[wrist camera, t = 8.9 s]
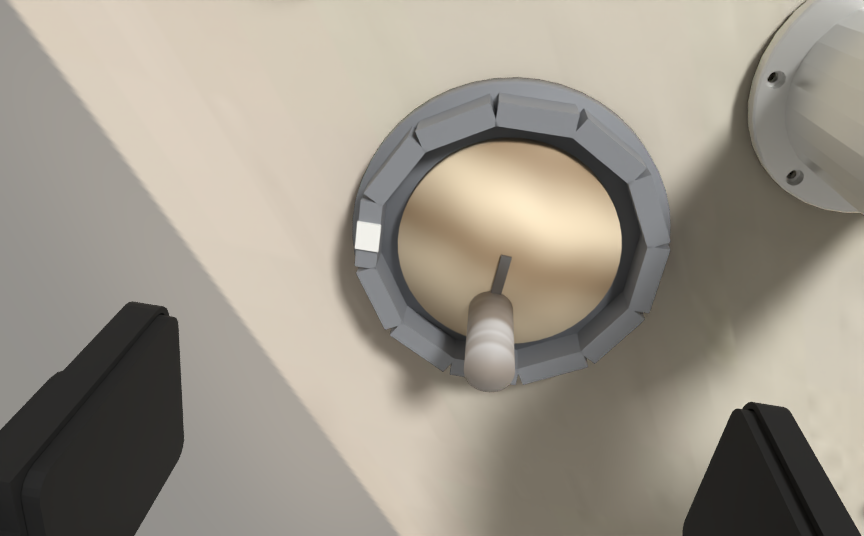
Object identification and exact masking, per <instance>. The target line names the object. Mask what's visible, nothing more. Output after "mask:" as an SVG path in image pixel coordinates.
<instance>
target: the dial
mask: <svg viewBox="0 0 864 536" xmlns="http://www.w3.org/2000/svg"><path fill="white" fill-rule="evenodd" d="M621 250H622V236H621V229H620V222H619V219H618V216H617V213H616V210H615V207H614V204H613V202H612V200H611V198H610V196H609V194H608V191H607V190H606V188H605V187H604V185H603V184H602V182H601V181H600V179H599V178H598V177H597V176H596V175H595V174H594V172H593V171H592V170H591V169H590V168H589V167H588V166H586V165H585V164H584V163H583V162H582V161H580V160H579V159H578V158H576V157H575V156H573V155H571V154H570V153H568V152H566V151H565V150H562V149H560V148H558V147H556V146H553V145H551V144H547V143H544V142H541V141H537V140H531V139H525V138H497V139H489V140H485V141H481V142H476V143H473V144H471V145H468V146H465V147H463V148H460V149H459V150H457V151H455V152H453V153H451V154H449V155H448V156H446V157H445V158H443V159H442V160H440V161H439V162H438V163H436V164H435V165H434V166H433V167H432V168H431V169H430V170H429V171H428V172H427V173H426V174H425V175H424V176H423V177H422V179H421V180H420V181H419V182H418V183H417V185H416V187H415V188H414V190H413V192H412V193H411V195H410V197H409V199H408V202H407V204H406V206H405V209H404V212H403V216H402V219H401V223H400V227H399V234H398V255H399V261H400V266H401V270H402V273H403V276H404V279H405V281H406V283H407V285H408V287H409V289H410V291H411V292H412V294H413V295H414V297H415V298H416V300H417V301H418V302H419V303H420V305H421V306H422V307H423V308H424V309H425V310H426V311H427V312H428V313H429V314H430V315H431V316H432V317H434V318H435V319H436V320H437V321H439V322H440V323H442V324H443V325H445V326H446V327H448V328H450V329H452V330H453V331H455V332H457V333H460V334H462V335H465V336H466V348H465V360H464V376H465V378H466V380H467V382H468V383H469V384H470V385H471V386H473V387H474V388H476V389H478V390H481V391H485V392H495V391H499V390H502V389H504V388H506V387H507V386H508V385H509V384H510V383H511V382H512V380H513V378H514V375H515V356H514V344H515V343H526V342H532V341H537V340H541V339H544V338H548V337H551V336H553V335H556V334H558V333H560V332H563V331H564V330H566V329H568V328H570V327H572V326H574V325H575V324H576V323H578V322H579V321H581V320H582V319H583V318H585V317H586V316H587V315H588V314H589V313H590V312H591V311H592V310H593V309H595V307H596V306H597V305H598V304H599V303H600V301H601V300H602V299H603V298H604V296H605V295H606V293H607V291H608V290H609V288H610V287H611V284H612V282H613V280H614V278H615V276H616V273H617V269H618V266H619V263H620V256H621Z"/></svg>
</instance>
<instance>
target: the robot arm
mask: <svg viewBox="0 0 864 536" xmlns="http://www.w3.org/2000/svg"><path fill="white" fill-rule="evenodd" d="M773 72H775V77H774V79H772V80H771V81H768V80H767V78H768V77H769V75H770V74H771V73H773ZM748 128H749V133H750V137H751V142H752V146H753V148H754V150H755V152H756V155H757V157H758V159H759V161H760V163H761V165H762V166H763V167H764V168H765V170H766V171H767V172H768V173H769V175H770V176H771V177H772V178H773V180H774V181H775V182H776V183H777V184H778V185H779V186H781V187H782V188H783V189H784V190H785V191H786V192H788V193H790V194H791V195H793V196H794V197H796V198H798V199H799V200H801V201H802V202H804V203H807V204H810V205H813V206H816V207H818V208H821V209H824V210H831V211H837V212H843V213H861V214H862V215H864V0H807V1H806V2H805V3H804V4H803V5H801V6H800V7H799V8H798V9H797V10H796V11H794V13H793V14H792V15H791V16H790V17H789V18H788V20H787V21H786V22H785V23H784V24H783V25H782V27H781V28H780V29H779V30H778V31H777V33H776V34H775V36H774V37H773V39H772V41H771V42H770V44H769V45H768V47H767V49H766V50H765V52H764V54H763V55H762V57H761V60H760V62H759V65H758V67H757V70H756V72H755V75H754V77H753V80H752V85H751V90H750V95H749V100H748ZM791 171H793V173H792V174H791V175H790V176H787V175H788V174H789V173H790V172H791ZM179 350H180V349H179V329H178V321H177V319H176V318H175V317H170V316H169V313H168V310H167V308H165V307H163V306H157V305H151V304H144V303H138V302H129V303H127V304H126V305H125V306H124V307H123V308H122V309H121V310H120V311H119V312H118V313H117V314H116V315H115V316H114V318H113V319H112V320H111V321H110V322H109V323H108V324H107V325H106V326H105V327H104V328H103V329H102V330H101V331H100V332H99V333H98V334H97V335H96V337H95V338H94V339H93V340H92V341H91V342H90V343H89V344H88V345H87V346H86V347H85V348H84V349H83V350H82V351H81V352H80V353H79V355H78V356H77V357H76V358H75V359H74V360H73V361H72V362H71V363H70V364H69V365H68V366H67V367H66V368H65V369H64V370H63V371H61V372H57V373H56V374H55V375H54V376H52V377H51V378H50V379H49V380H48V381H47V382H46V383H45V384H44V385H43V386H42V387H41V388H40V389H39V390H38V391H37V392H36V393H35V394H34V395H33V397H32V398H31V399H30V400H29V401H28V402H27V403H26V404H25V405H24V406H23V407H22V408H21V409H20V410H19V411H18V412H17V413H16V414H15V415H14V416H13V417H12V419H11V420H10V421H9V422H8V423H7V424H6V425H5V426H4V427H3V428H2V429H1V430H0V536H134V535H135V533H136V532H137V530H138V528H139V527H140V524H141V523H142V522H143V520H144V518H145V516H146V515H147V513H148V511H149V510H150V508H151V506H152V504H153V503H154V501H155V499H156V497H157V496H158V494H159V492H160V491H161V489H162V487H163V486H164V484H165V482H166V480H167V479H168V477H169V475H170V473H171V471H172V470H173V468H174V467H175V465H176V463H177V461H178V460H179V457H180V455H181V452H182V448H183V442H184V431H183V409H182V390H181V370H180V351H179ZM683 536H861V534H860V533H859V531H858V529H857V527H856V526H855V524H854V522H853V520H852V519H851V517H850V515H849V513H848V512H847V510H846V508H845V506H844V505H843V503H842V501H841V499H840V498H839V496H838V494H837V492H836V491H835V489H834V487H833V485H832V484H831V482H830V480H829V478H828V477H827V475H826V473H825V471H824V470H823V468H822V466H821V464H820V463H819V461H818V459H817V457H816V456H815V454H814V452H813V450H812V449H811V447H810V445H809V443H808V442H807V440H806V438H805V436H804V435H803V433H802V431H801V429H800V428H799V426H798V424H797V423H796V421H795V419H794V417H793V416H792V414H791V412H790V411H789V410H788V409H787V408H784V407H780V406H773V405H767V404H761V403H755V402H749V403H747V404H746V405H745V406H744V407H743V409H735V410H734V411H733V412H732V414H731V415H730V418H729V420H728V422H727V425H726V427H725V429H724V432H723V434H722V436H721V438H720V441H719V443H718V445H717V448H716V450H715V452H714V455H713V457H712V459H711V461H710V464H709V466H708V468H707V471H706V473H705V475H704V478H703V480H702V482H701V484H700V487H699V489H698V491H697V494H696V496H695V498H694V500H693V503H692V505H691V507H690V510H689V512H688V514H687V517H686V519H685V522H684V525H683Z"/></svg>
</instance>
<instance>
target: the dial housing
mask: <svg viewBox="0 0 864 536" xmlns="http://www.w3.org/2000/svg"><path fill="white" fill-rule="evenodd" d="M497 138H525V139H531V140H537V141H541V142H544V143H547V144H551V145H553V146H556V147H558V148H560V149H562V150H565V151H566V152H568V153H570V154H571V155H573V156H575V157H576V158H578V159H579V160H580V161H582V162H583V163H584V164H585V165H586V166H588V167H589V168H590V169H591V170H592V171H593V172H594V174H595V175H596V176H597V177H598V178H599V179H600V181H601V182H602V184H603V185H604V187H605V188H606V190H607V191H608V194H609V196H610V198H611V200H612V202H613V204H614V207H615V210H616V213H617V216H618V219H619V222H620V229H621V236H622V250H621V256H620V263H619V266H618V269H617V273H616V276H615V278H614V280H613V282H612V284H611V287H610V288H609V290H608V291H607V293H606V295H605V296H604V298H603V299H602V300H601V301H600V303H599V304H598V305H597V306H596V307H595V309H593V310H592V311H591V312H590V313H589V314H588V315H587V316H586V317H585V318H583V319H582V320H581V321H579V322H578V323H576V324H575V325H574V326H572V327H570V328H568V329H566V330H564V331H563V332H560V333H558V334H556V335H553V336H551V337H548V338H544V339H541V340H537V341H532V342H526V343H515V344H514V356H515V375H514V378H513V380H512V382H511V383H510V384H511V385H516V380H517V376H518V374H519V376H520V379H521V381H522V384H523V385H524V384H528V383H531V382H535V381H539V380H543V379H546V378H550V377H554V376H557V375H561V374H565V373H569V372H572V371H576V370H580V369H583V368H587V367H588V365H587V360H586V358H588V359H589V360H590V361H592V362H593V363H594V364H595V363H596V362H597V361H598V360H600V359H601V358H602V357H603V356H604V355H605V354H606V353H608V352H609V351H610V350H611V349H612V348H613V347H614V346H616V345H617V344H618V343H619V342H620V341H621V340H622V339H624V338H625V337H626V336H627V335H628V334H629V333H630V332H631V331H633V330H634V329H635V328H636V327H637V326H638V325H639V324H641V323H642V322H643V321H644V320H645V318H644V315H643V312H644V313H650V310H651V307H652V304H653V301H654V298H655V295H656V292H657V289H658V286H659V283H660V280H661V277H662V274H663V271H664V268H665V265H666V262H667V259H668V256H669V253H670V248H669V243H670V242H671V241H670V230H671V229H670V209H669V204H668V199H667V194H666V190H665V187H664V185H663V182H662V179H661V176H660V173H659V171H658V169H657V168H656V166H655V164H654V162H653V160H652V158H651V156H650V155H649V153H648V151H647V150H646V148H645V146H644V145H643V143H642V142H641V141H640V139H639V138H638V137H637V135H636V134H635V133H634V131H633V130H632V129H631V128H630V127H629V126H628V125H627V124H626V123H625V122H624V121H623V120H622V119H621V118H620V117H619V116H618V115H617V114H615V113H614V112H613V111H611V110H610V109H609V108H607V107H606V106H605V105H603V104H602V103H601V102H599V101H597V100H595V99H593V98H591V97H590V96H588V95H586V94H584V93H582V92H580V91H577V90H575V89H572V88H569V87H567V86H564V85H561V84H557V83H553V82H549V81H544V80H540V79H530V78H518V77H513V78H493V79H488V80H482V81H476V82H472V83H468V84H465V85H462V86H459V87H456V88H453V89H450V90H448V91H446V92H444V93H442V94H440V95H437V96H435V97H433V98H431V99H430V100H428V101H427V102H425V103H424V104H422V105H420V106H419V107H417V108H416V109H414V110H413V111H412V112H411V113H410V114H408V115H407V116H406V117H405V118H404V119H403V120H401V121H400V122H399V123H398V124H397V125H396V126H395V128H394V129H393V130H392V131H391V132H390V133H389V134H388V136H387V137H386V138H385V139H384V141H383V142H382V144H381V145H380V147H379V148H378V150H377V151H376V153H375V154H374V156H373V158H372V160H371V162H370V164H369V166H368V168H367V170H366V172H365V175H364V177H363V179H362V181H361V184H360V187H359V190H358V194H357V197H356V201H355V207H354V214H353V244H354V252H355V266H358V270H357V272H356V274H357V276H358V278H359V280H360V282H361V284H362V286H363V288H364V290H365V292H366V294H367V296H368V298H369V300H370V301H371V303H372V305H373V307H374V309H375V311H376V313H377V315H378V317H379V319H380V321H381V323H382V325H383V327H384V329H385V330H386V329H389V328H391V332H390V336H392V337H393V338H395V339H396V340H398V341H399V342H400V343H402V344H403V345H405V346H406V347H408V348H409V349H411V350H412V351H414V352H415V353H416V354H418V355H419V356H421V357H422V358H424V359H425V360H427V361H428V362H430V363H431V364H432V365H434V366H435V367H437V368H438V369H440V370H441V371H444V370H445V369H446V368H447V367H448V366H449V365H450V364H451V369H450V375H456V376H462V377H465V376H464V360H465V348H466V336H465V335H462V334H460V333H457V332H455V331H453V330H452V329H450V328H448V327H446V326H445V325H443V324H442V323H440V322H439V321H437V320H436V319H435V318H434V317H432V316H431V315H430V314H429V313H428V312H427V311H426V310H425V309H424V308H423V307H422V306H421V305H420V303H419V302H418V301H417V300H416V298H415V297H414V295H413V294H412V292H411V291H410V289H409V287H408V285H407V283H406V281H405V279H404V276H403V273H402V270H401V266H400V261H399V255H398V234H399V227H400V223H401V219H402V216H403V212H404V209H405V206H406V204H407V202H408V199H409V197H410V195H411V193H412V192H413V190H414V188H415V187H416V185H417V183H418V182H419V181H420V180H421V179H422V177H423V176H424V175H425V174H426V173H427V172H428V171H429V170H430V169H431V168H432V167H433V166H434V165H435V164H436V163H438V162H439V161H440V160H442V159H443V158H445V157H446V156H448V155H449V154H451V153H453V152H455V151H457V150H459V149H460V148H463V147H465V146H468V145H471V144H473V143H476V142H481V141H485V140H489V139H497Z"/></svg>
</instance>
